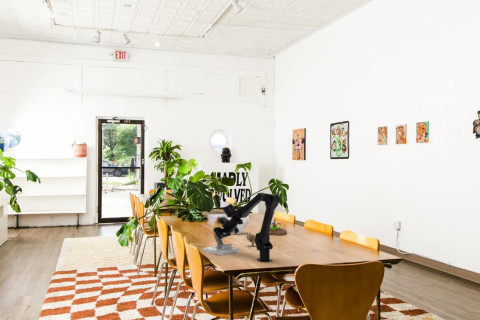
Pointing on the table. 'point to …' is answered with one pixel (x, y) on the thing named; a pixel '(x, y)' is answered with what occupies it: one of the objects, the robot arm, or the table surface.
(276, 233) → the plant
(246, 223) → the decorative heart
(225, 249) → the switch plate
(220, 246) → the lever
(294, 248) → the table surface
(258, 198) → the robot arm
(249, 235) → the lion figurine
